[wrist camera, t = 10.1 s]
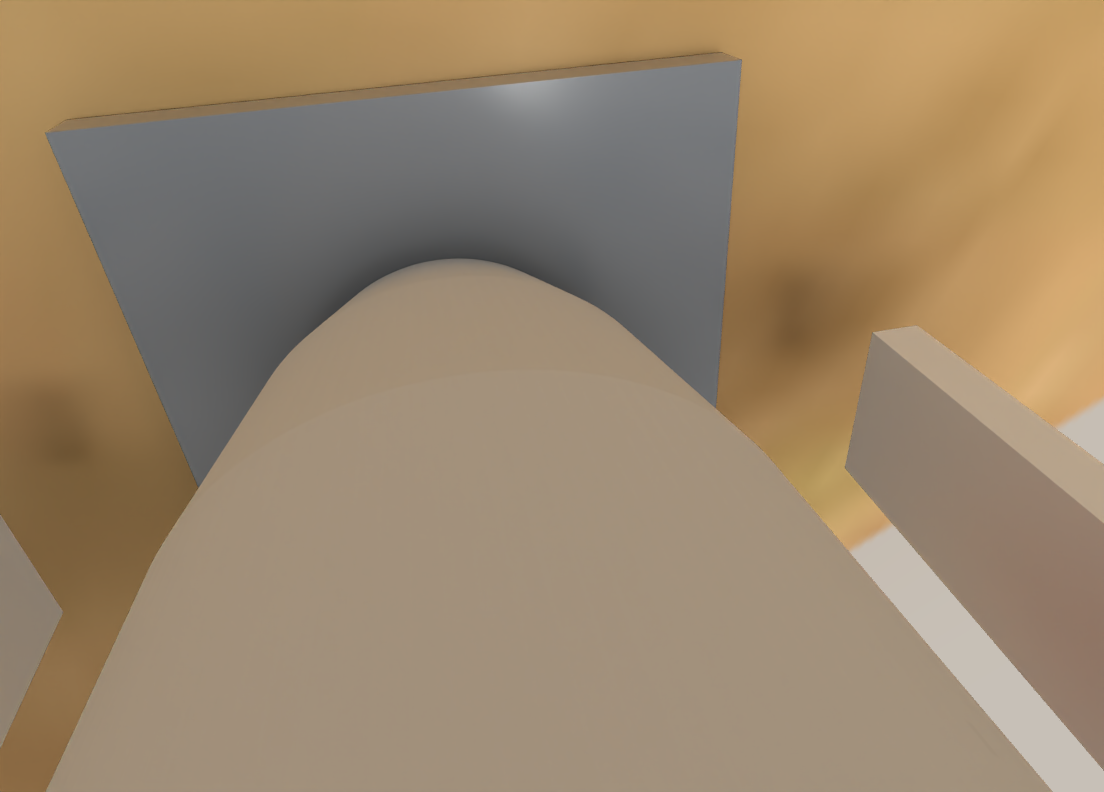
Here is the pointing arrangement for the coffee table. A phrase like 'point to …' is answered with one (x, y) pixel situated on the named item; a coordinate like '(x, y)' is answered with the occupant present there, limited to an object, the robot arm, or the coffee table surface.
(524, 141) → the coaster
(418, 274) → the cup
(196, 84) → the coffee table surface
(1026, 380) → the coffee table surface
